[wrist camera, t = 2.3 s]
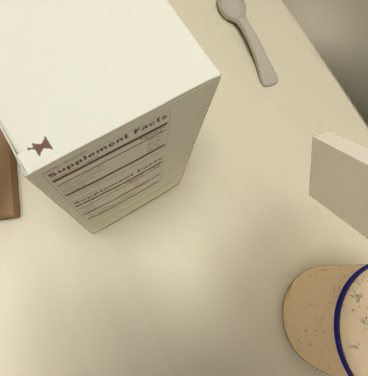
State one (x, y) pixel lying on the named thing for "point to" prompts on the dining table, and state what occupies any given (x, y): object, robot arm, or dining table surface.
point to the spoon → (249, 39)
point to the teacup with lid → (330, 318)
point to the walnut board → (8, 182)
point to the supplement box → (101, 100)
